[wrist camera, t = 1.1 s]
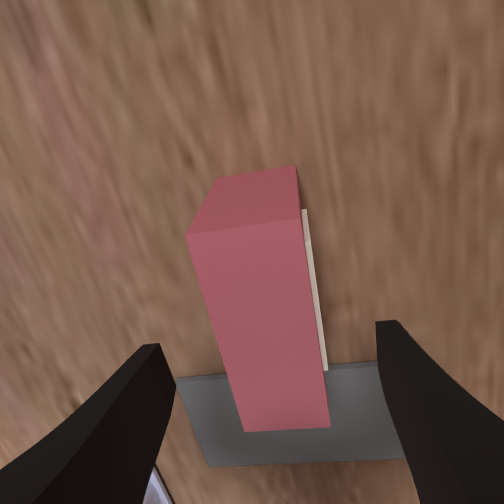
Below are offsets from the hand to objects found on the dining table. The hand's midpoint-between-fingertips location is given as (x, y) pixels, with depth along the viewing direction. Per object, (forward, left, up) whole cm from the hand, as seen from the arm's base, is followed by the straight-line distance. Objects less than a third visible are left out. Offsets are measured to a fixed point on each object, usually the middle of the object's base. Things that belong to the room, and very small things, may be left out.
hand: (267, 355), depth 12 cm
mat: (0, -11, -7) cm, 13 cm away
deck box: (0, 0, -7) cm, 7 cm away
